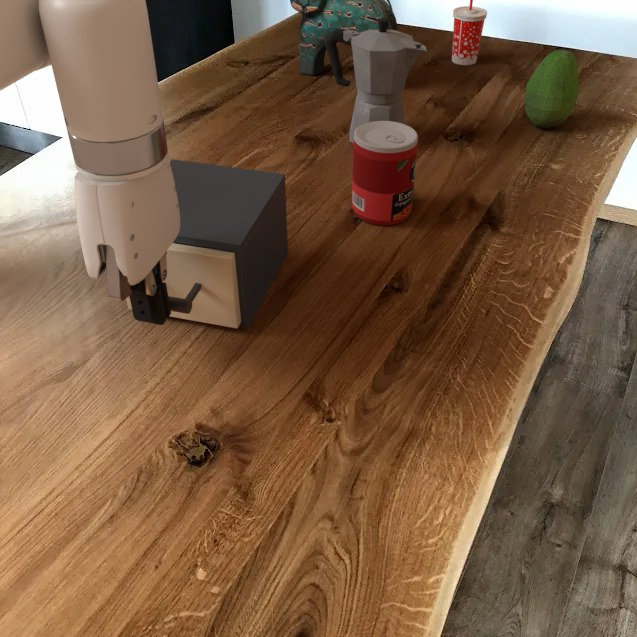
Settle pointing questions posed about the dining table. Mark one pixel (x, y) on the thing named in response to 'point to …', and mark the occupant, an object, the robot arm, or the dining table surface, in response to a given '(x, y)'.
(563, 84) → the avocado
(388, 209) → the canned food
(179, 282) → the drawer
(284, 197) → the cabinet
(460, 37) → the beverage cup
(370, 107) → the coffeepot
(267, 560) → the dining table surface
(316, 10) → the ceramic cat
